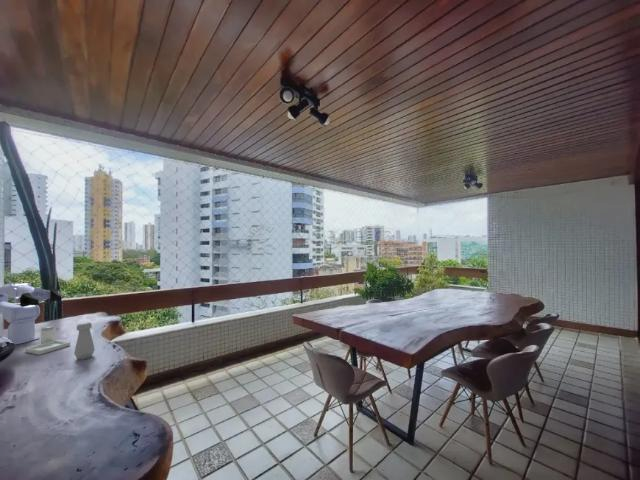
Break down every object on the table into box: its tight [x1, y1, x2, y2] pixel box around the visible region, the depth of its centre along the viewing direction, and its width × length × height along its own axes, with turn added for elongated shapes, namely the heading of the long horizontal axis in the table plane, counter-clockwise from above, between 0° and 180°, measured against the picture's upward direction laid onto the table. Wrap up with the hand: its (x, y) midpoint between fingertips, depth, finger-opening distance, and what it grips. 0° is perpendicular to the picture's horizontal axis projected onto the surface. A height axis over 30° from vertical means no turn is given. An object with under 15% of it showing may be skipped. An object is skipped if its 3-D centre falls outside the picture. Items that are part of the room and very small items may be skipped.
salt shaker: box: [73, 321, 95, 361], centre depth 103 cm, size 6×6×13 cm
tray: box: [24, 339, 71, 356], centre depth 114 cm, size 10×10×2 cm
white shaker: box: [40, 325, 56, 344], centre depth 121 cm, size 4×4×7 cm
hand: (49, 300), depth 118 cm, fingers open, 7 cm apart
